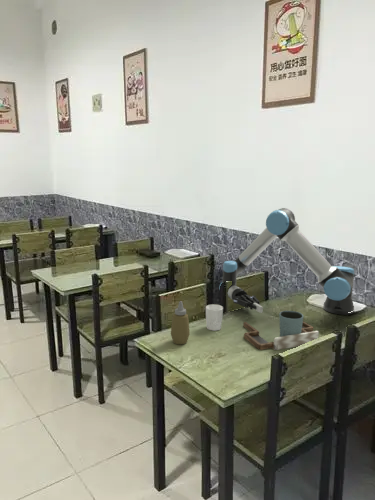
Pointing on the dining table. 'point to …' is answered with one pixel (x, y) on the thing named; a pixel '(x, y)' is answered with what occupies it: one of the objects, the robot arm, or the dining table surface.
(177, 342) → the squeeze bottle
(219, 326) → the white cup
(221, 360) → the dining table surface
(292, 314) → the blue-grey cup
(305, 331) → the brown walled tray frame
